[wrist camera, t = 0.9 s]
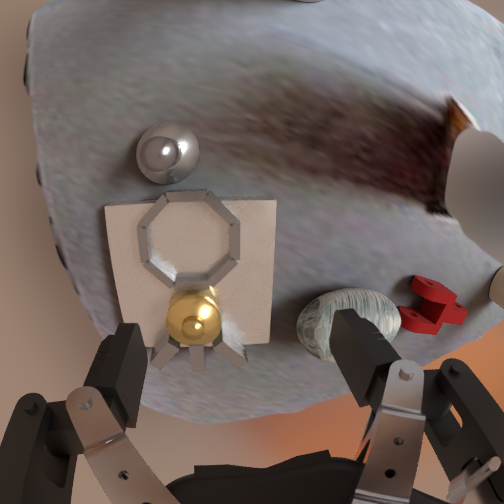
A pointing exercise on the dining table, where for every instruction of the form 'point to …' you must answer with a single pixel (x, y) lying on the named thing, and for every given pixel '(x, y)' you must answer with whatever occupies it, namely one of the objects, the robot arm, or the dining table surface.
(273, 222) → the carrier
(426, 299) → the mechanical linkage
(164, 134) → the silver knob
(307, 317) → the streaked stone egg
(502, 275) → the travel mug
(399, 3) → the dining table surface
